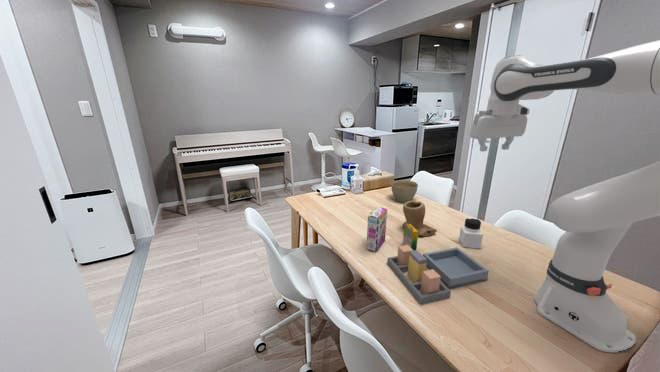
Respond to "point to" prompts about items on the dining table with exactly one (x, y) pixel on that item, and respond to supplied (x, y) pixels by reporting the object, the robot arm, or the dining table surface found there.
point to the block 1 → (403, 255)
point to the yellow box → (416, 265)
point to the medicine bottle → (471, 233)
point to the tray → (455, 267)
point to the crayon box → (410, 236)
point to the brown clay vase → (417, 217)
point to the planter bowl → (404, 190)
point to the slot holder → (417, 284)
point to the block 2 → (430, 282)
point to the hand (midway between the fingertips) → (494, 150)
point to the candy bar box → (376, 229)
